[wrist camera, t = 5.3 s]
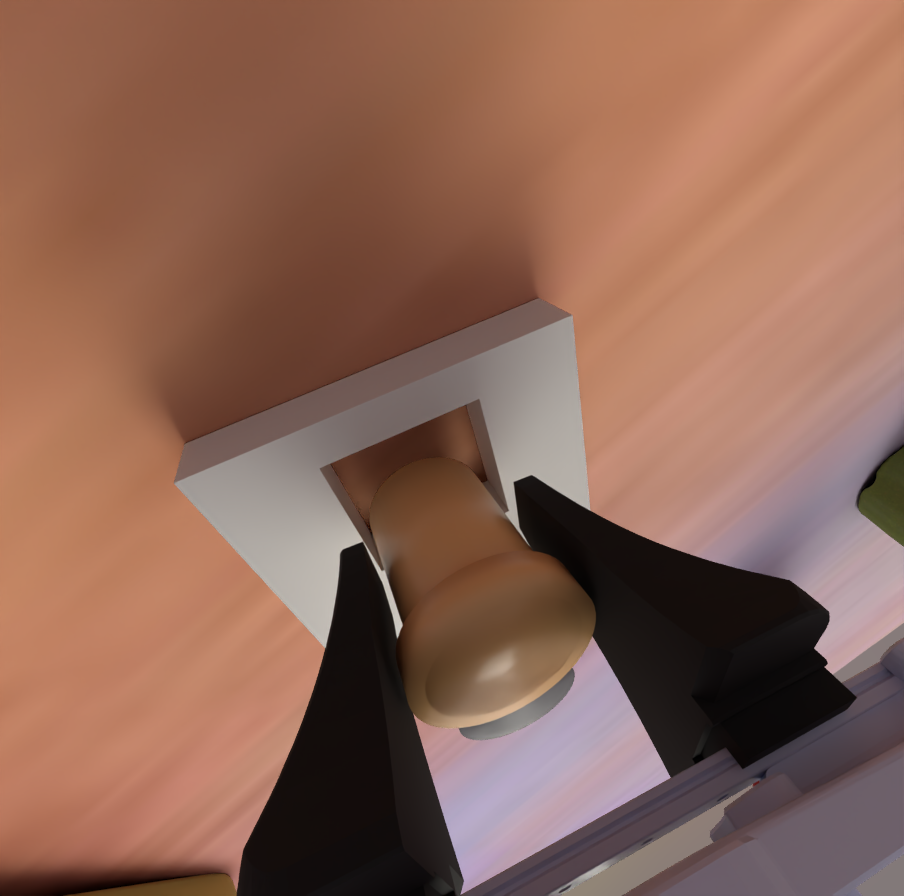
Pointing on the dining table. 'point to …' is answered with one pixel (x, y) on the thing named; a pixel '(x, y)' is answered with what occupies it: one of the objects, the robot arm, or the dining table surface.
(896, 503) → the plant pot
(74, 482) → the dining table surface
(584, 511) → the robot arm
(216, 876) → the plastic component
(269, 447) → the housing
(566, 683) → the charcoal flared cup
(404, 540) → the tan rubber stopper
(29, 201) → the dining table surface
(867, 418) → the dining table surface
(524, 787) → the dining table surface
